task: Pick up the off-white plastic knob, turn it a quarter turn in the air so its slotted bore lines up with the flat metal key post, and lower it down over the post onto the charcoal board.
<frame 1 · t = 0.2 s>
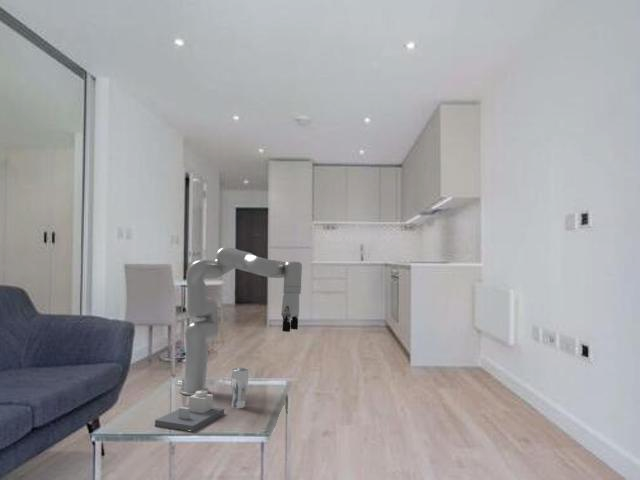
hand: (290, 330, 192), 31 cm above the table, tool pointing down, fingers open, 9 cm apart
knob: (200, 409, 171), point 2 cm above the table, touching key board
key board: (191, 419, 165), on the table
beer glass: (238, 407, 184), on the table
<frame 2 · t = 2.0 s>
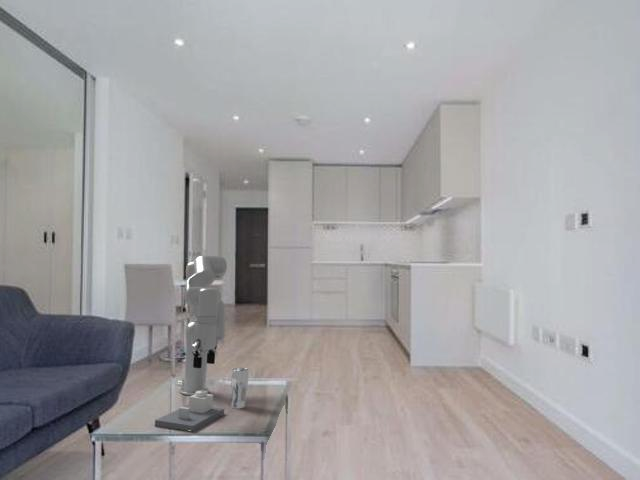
hand: (204, 365, 172), 18 cm above the table, tool pointing down, fingers open, 9 cm apart
nothing on the table moved.
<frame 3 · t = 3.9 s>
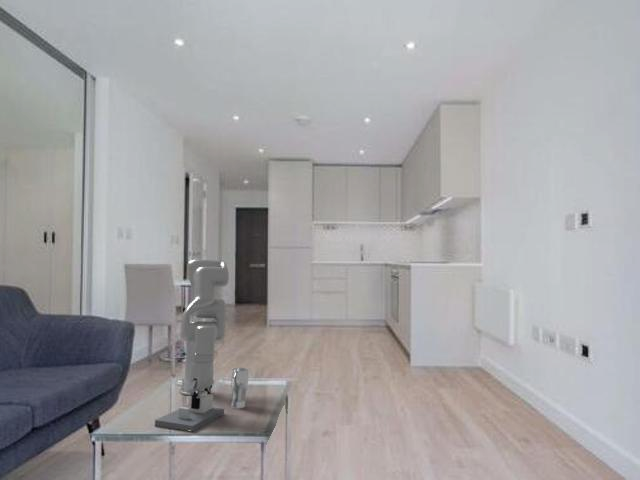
hand: (200, 405, 171), 4 cm above the table, tool pointing down, fingers closed on knob, 6 cm apart
knob: (200, 409, 171), point 2 cm above the table, touching gripper, key board
everything else where it was.
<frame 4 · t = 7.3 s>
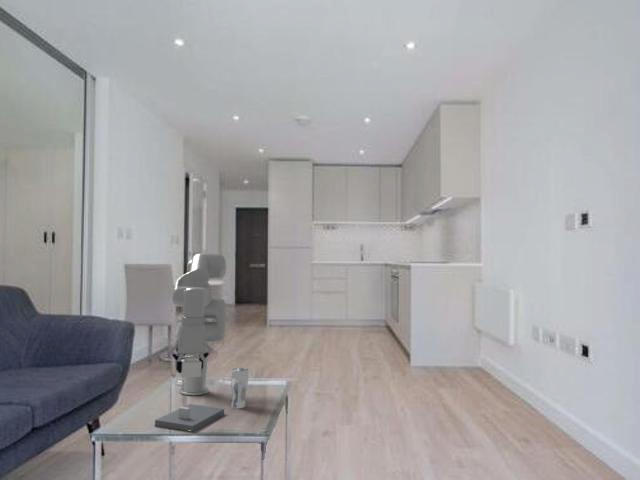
hand: (189, 371, 163), 18 cm above the table, tool pointing down, fingers closed on knob, 6 cm apart
knob: (189, 375, 163), point 17 cm above the table, touching gripper
everything else where it was.
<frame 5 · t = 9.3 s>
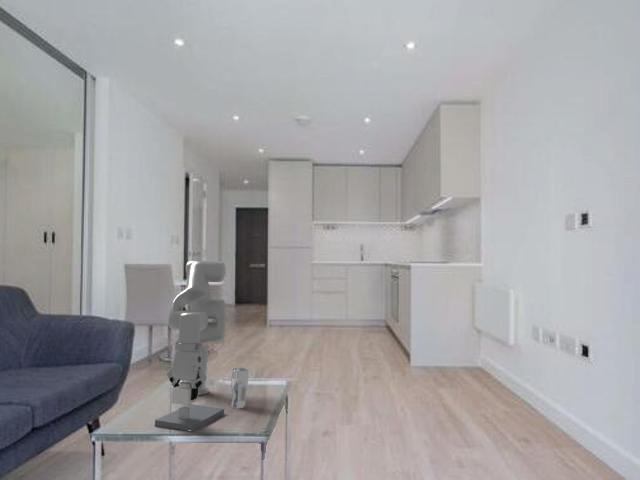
hand: (185, 397, 161), 9 cm above the table, tool pointing down, fingers closed on knob, 6 cm apart
knob: (184, 401, 161), point 8 cm above the table, touching gripper
everything else where it was.
when the fingers open (4 cm above the table, at t = 10.7 s): knob stays where it is, resting on key board.
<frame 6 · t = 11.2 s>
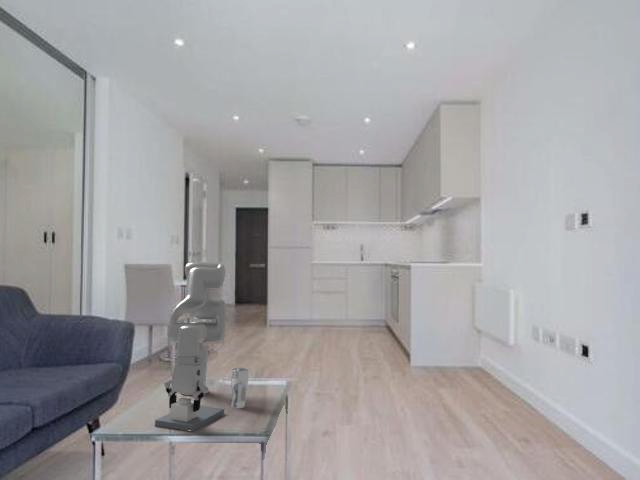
hand: (184, 409, 161), 5 cm above the table, tool pointing down, fingers open, 9 cm apart
knob: (183, 417, 160), point 2 cm above the table, touching key board
everything else where it was.
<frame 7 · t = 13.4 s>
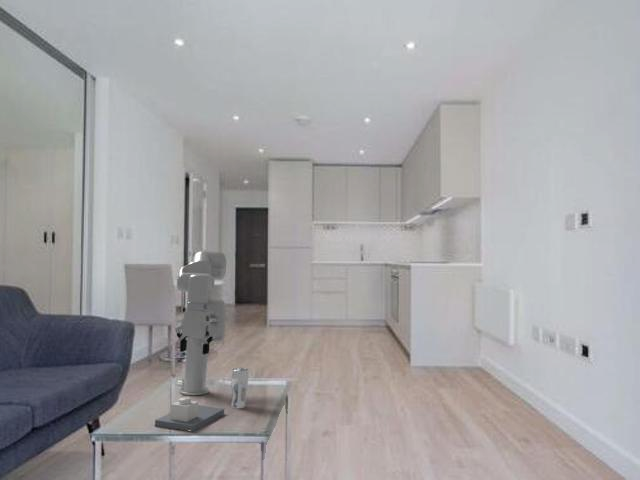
hand: (194, 352, 170), 24 cm above the table, tool pointing down, fingers open, 9 cm apart
nothing on the table moved.
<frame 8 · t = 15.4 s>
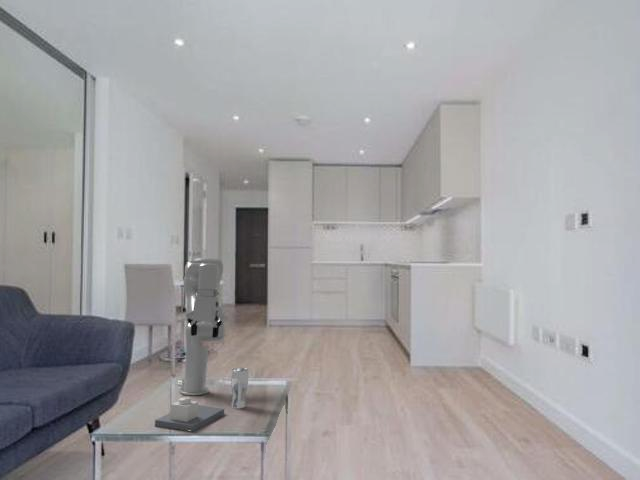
hand: (204, 336, 182), 28 cm above the table, tool pointing down, fingers open, 9 cm apart
nothing on the table moved.
at the end: knob 0.0 cm from the target spot on the key board, point 2.0 cm above the key board's base; knob tilted 0°; the gripper is holding nothing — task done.
